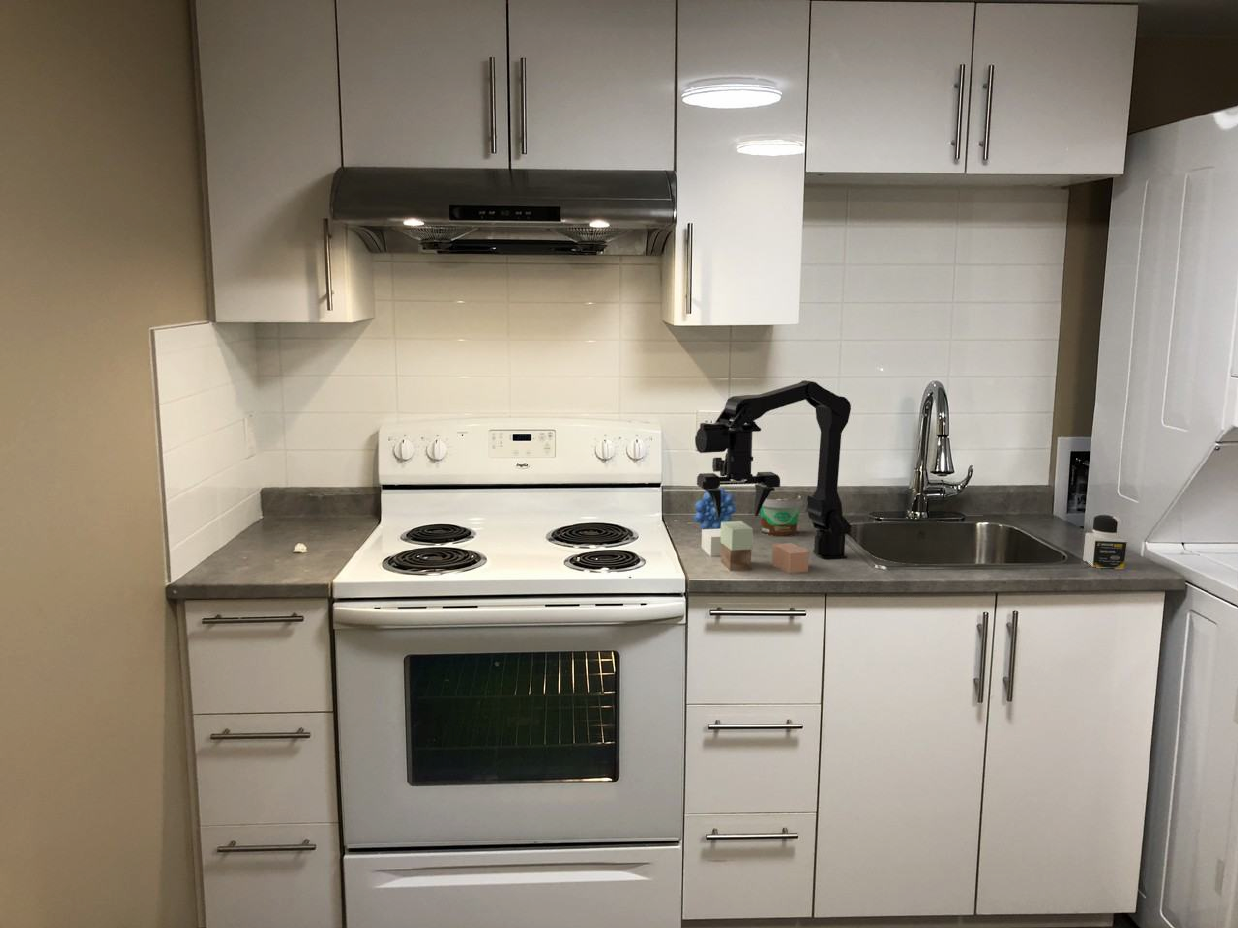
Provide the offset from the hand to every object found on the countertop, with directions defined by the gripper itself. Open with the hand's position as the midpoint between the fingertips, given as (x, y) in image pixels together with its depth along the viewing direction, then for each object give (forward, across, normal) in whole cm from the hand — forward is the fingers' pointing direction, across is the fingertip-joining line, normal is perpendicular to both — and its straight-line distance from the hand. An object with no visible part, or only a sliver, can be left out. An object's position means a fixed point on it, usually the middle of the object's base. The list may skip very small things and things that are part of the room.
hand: (737, 516), depth 231 cm
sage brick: (+7, 0, 0) cm, 7 cm away
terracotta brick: (+12, -12, +4) cm, 18 cm away
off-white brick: (+12, +1, -13) cm, 18 cm away
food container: (+12, -22, -27) cm, 37 cm away
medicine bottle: (+12, -88, +14) cm, 90 cm away
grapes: (+12, -5, -34) cm, 36 cm away
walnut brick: (+12, 0, 0) cm, 12 cm away
